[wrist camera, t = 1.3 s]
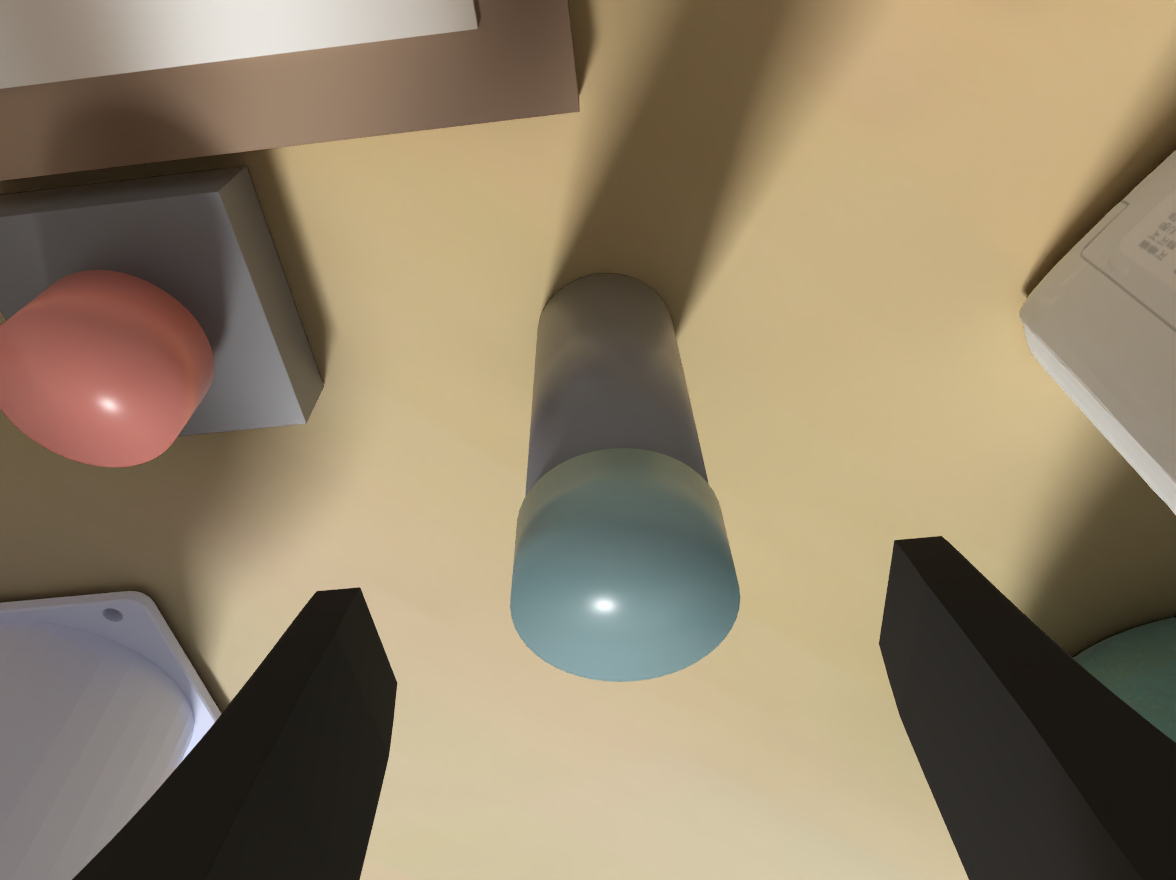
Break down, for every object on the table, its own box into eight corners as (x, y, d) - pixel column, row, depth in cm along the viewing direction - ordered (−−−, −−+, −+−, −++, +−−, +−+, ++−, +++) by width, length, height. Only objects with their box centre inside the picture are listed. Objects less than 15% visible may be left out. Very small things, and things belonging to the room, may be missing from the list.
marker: (543, 404, 19) (529, 689, 12) (522, 277, 17) (491, 533, 10) (681, 391, 19) (740, 672, 12) (674, 260, 17) (739, 509, 10)
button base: (111, 408, 19) (80, 446, 17) (-3, 195, 16) (-51, 222, 15) (323, 386, 18) (306, 423, 17) (246, 165, 16) (218, 191, 14)
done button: (84, 426, 16) (42, 475, 15) (1, 280, 14) (-56, 320, 13) (238, 410, 16) (209, 457, 15) (173, 260, 14) (134, 300, 13)
